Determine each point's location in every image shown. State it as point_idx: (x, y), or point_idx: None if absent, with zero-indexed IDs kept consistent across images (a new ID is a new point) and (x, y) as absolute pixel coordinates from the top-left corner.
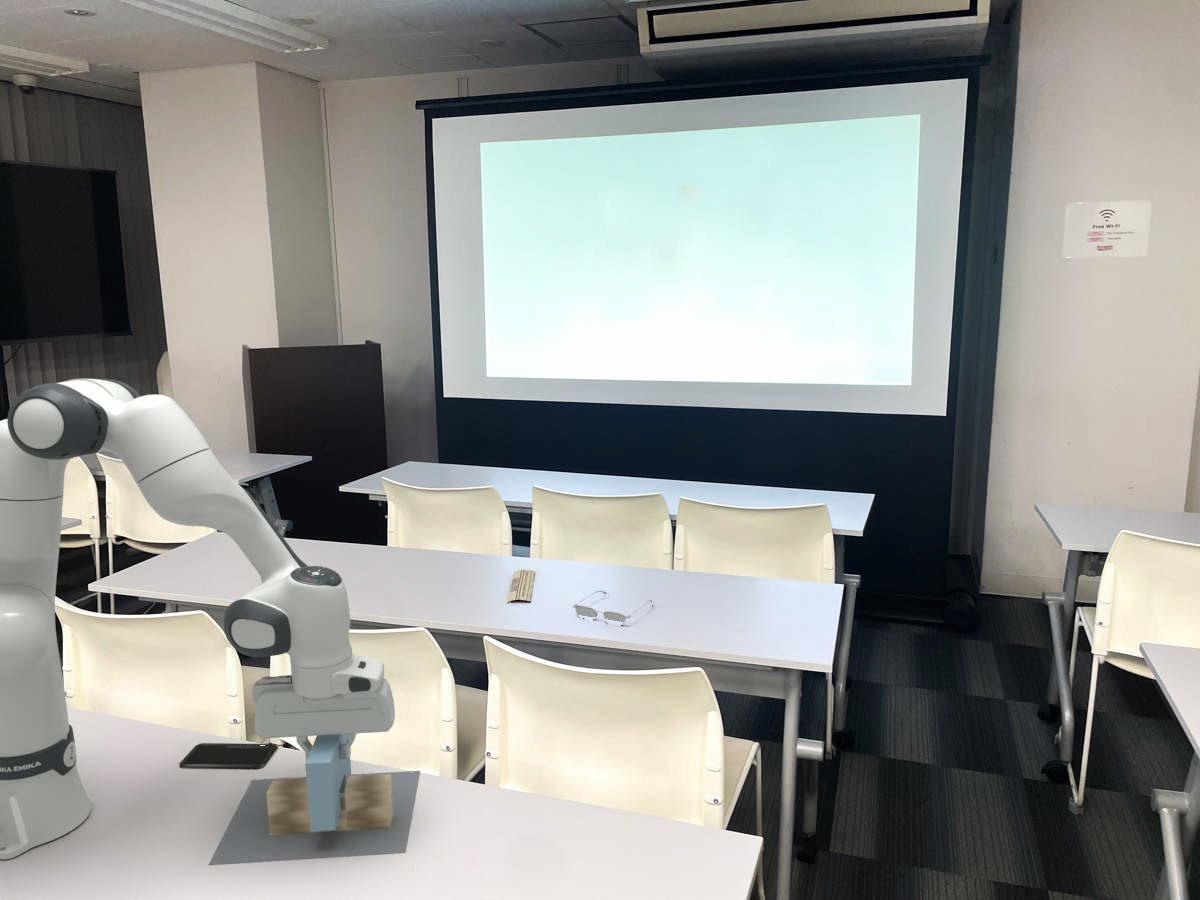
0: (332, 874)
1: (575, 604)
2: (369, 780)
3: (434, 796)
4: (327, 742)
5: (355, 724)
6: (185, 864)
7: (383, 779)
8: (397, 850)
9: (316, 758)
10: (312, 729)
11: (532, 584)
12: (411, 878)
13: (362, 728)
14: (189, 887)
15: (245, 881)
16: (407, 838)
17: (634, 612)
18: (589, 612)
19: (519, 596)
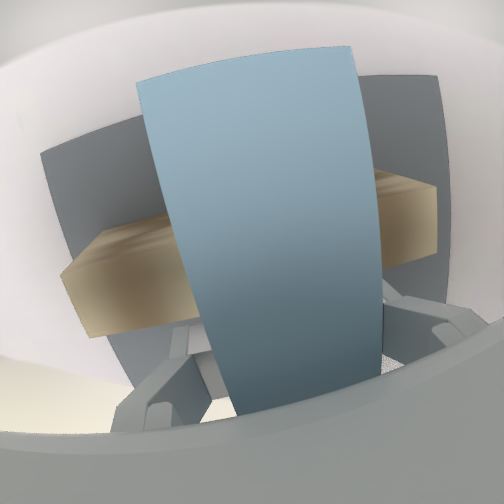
0: (172, 56)
1: None
2: (133, 300)
3: (81, 346)
4: (292, 359)
5: (48, 492)
6: (466, 90)
7: (94, 310)
8: (56, 155)
9: (292, 126)
10: (446, 394)
11: None
12: (14, 91)
13: (23, 457)
14: (434, 28)
15: (353, 28)
16: (53, 201)
17: None
18: None
19: None
